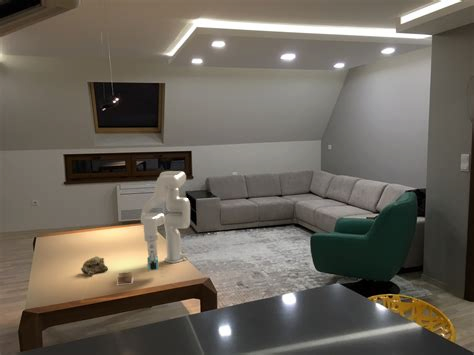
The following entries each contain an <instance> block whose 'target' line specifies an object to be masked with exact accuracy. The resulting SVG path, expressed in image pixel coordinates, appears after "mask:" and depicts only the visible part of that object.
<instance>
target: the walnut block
mask: <svg viewBox="0 0 474 355" xmlns="http://www.w3.org/2000/svg"><path fill="white" fill-rule="evenodd" d="M117 275H118V276H117V281H118V284H123V285H127V284H126V283H131V281H132V278H133V276H132V271H129V272H127V271H126V272H120V273H119V272H118V274H117Z"/></svg>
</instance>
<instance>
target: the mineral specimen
mask: <svg viewBox="0 0 474 355" xmlns="http://www.w3.org/2000/svg"><path fill="white" fill-rule="evenodd" d="M104 260H105V258H104V257H99V256H94V257H91V258H90V259H87V260H85V261H84V262H83V265H82V267H81V268H80V270H81V272H82V273H83V274H84V275H85V274H86V275H96V274H101V273H106V272H108V271H109V269H108V268H109V267H108V265H105V261H104Z"/></svg>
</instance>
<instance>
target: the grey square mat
mask: <svg viewBox="0 0 474 355" xmlns="http://www.w3.org/2000/svg"><path fill="white" fill-rule="evenodd" d="M130 284H134V277H132V281H131V283H126V284H125V285H130ZM121 285H124V284H118V280H117V282H116V286H121Z"/></svg>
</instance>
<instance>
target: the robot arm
mask: <svg viewBox="0 0 474 355" xmlns="http://www.w3.org/2000/svg"><path fill="white" fill-rule="evenodd" d="M186 181H187V174H186V173H185V172H184V171H181V170H178V171H177V170H175V171H174V170H172V171H171V170H169V171H168V170H167V171H161V173H160V174H159V176H158V177H157V180H156V183H155V188H154V192H153V195H152V197H151V198H150V199H148V200H147V202H145V203H144V205H143V207H142V209H141V214H140V223H141V224H142V225H143V237H144V242H146V246H147V255H148V257H149V258H150V268H151V271H154V270H153V269H156V262H155V257H156V258H157V256H158V245H157V244H158V243H157V241H158V239H159V235H158V227H160V226H163V225H164V229H165V230H164V231H165V243H166V257H165V258H164V261H165V263H169V264H175V263H181V262H183V261H184V259H185V257H188V258H189V253H187V252H185V253H183V252H182V243H181V242H182V241H181V233H180V231H179V229H188V228H189V227H190V225H191V203H190V202H191V201H190V200H189V198H187V197H183V196H181V197H180V191H179V189H180V188H181V187H182V186H183V185H184V184H185V183H186ZM163 203H165V208H166V210H167V211H168V212H171V213H168V214H166V215H165V214H164V213H162V212H150V211H151V210H152V209H154V208H155V207H157V206H159V205H161V204H163ZM173 212H176V213H173Z"/></svg>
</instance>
